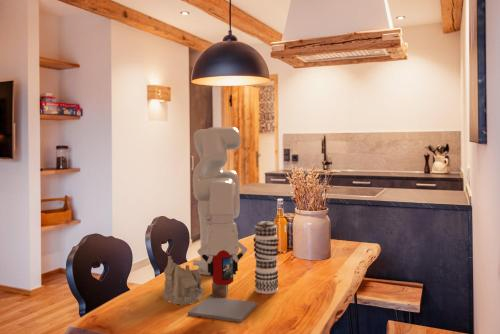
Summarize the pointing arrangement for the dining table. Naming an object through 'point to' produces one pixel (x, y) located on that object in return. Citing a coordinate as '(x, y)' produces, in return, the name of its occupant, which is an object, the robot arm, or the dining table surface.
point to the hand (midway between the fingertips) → (222, 273)
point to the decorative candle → (266, 257)
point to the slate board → (223, 309)
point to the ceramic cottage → (181, 284)
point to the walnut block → (219, 290)
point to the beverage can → (222, 268)
